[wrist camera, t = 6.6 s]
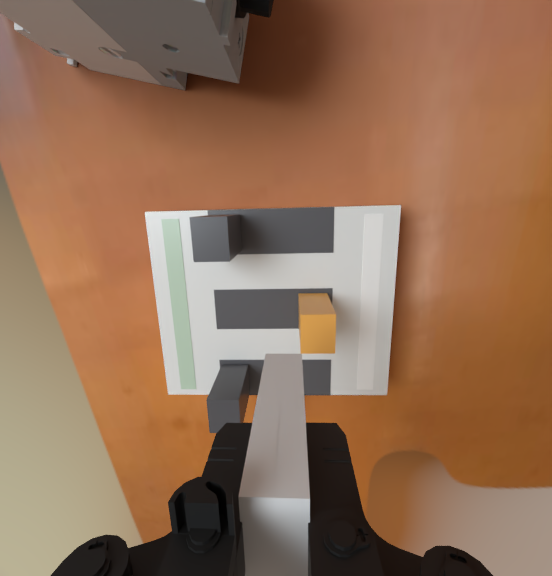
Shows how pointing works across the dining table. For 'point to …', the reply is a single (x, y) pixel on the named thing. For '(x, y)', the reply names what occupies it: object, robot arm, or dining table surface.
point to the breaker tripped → (316, 324)
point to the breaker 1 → (216, 237)
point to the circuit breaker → (142, 35)
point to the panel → (278, 295)
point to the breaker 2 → (228, 396)
